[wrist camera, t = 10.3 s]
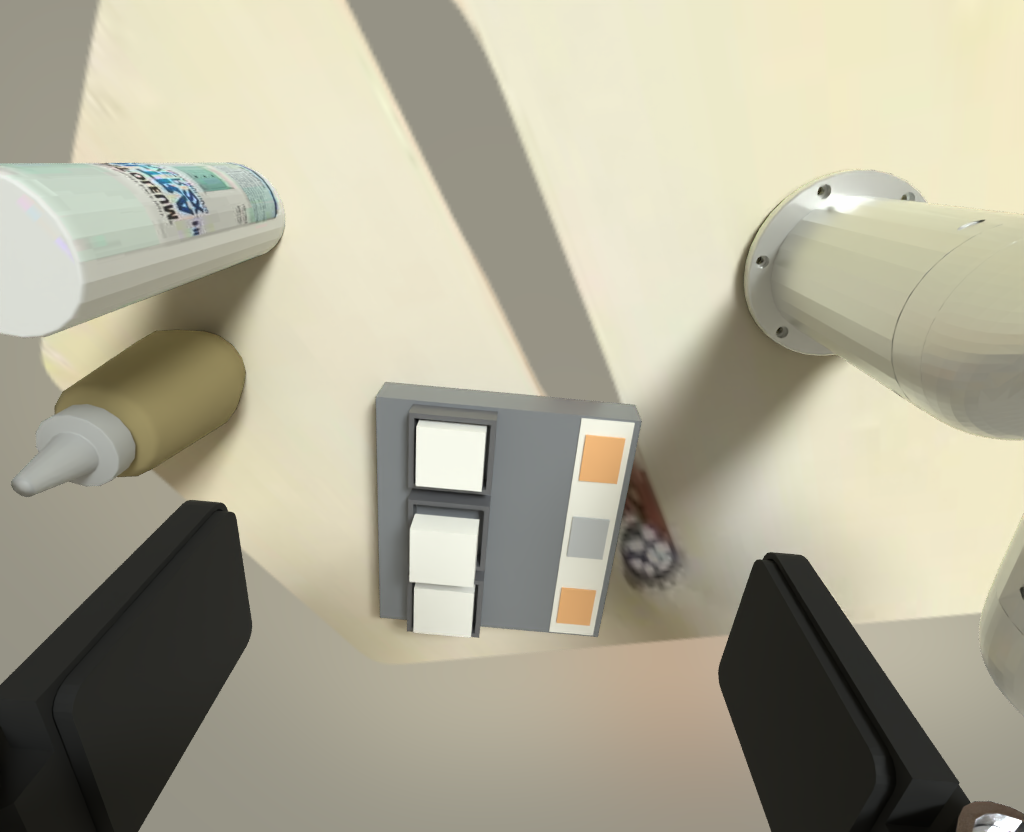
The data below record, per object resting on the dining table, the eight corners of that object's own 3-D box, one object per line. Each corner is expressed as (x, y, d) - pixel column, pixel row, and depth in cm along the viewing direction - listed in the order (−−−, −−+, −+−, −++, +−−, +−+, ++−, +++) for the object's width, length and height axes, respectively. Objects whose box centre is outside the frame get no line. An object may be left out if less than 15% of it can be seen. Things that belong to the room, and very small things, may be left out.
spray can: (183, 225, 40) (-108, 281, 22) (214, 139, 38) (-83, 124, 19) (267, 275, 41) (59, 368, 23) (303, 196, 39) (102, 231, 21)
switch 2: (479, 519, 43) (477, 535, 41) (475, 570, 45) (473, 587, 44) (414, 513, 43) (410, 529, 41) (414, 564, 45) (409, 581, 44)
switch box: (635, 404, 45) (645, 430, 40) (594, 612, 54) (599, 650, 50) (385, 381, 45) (370, 405, 40) (387, 594, 54) (375, 630, 50)
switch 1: (487, 420, 42) (485, 432, 40) (483, 477, 44) (481, 491, 42) (421, 414, 42) (416, 426, 40) (420, 472, 44) (415, 485, 42)
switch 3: (476, 577, 48) (474, 593, 46) (472, 620, 50) (470, 637, 49) (418, 571, 48) (414, 588, 46) (417, 615, 50) (413, 632, 49)
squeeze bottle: (263, 417, 46) (117, 560, 30) (165, 405, 46) (-36, 541, 30) (257, 323, 43) (88, 425, 27) (151, 309, 43) (-85, 404, 26)
